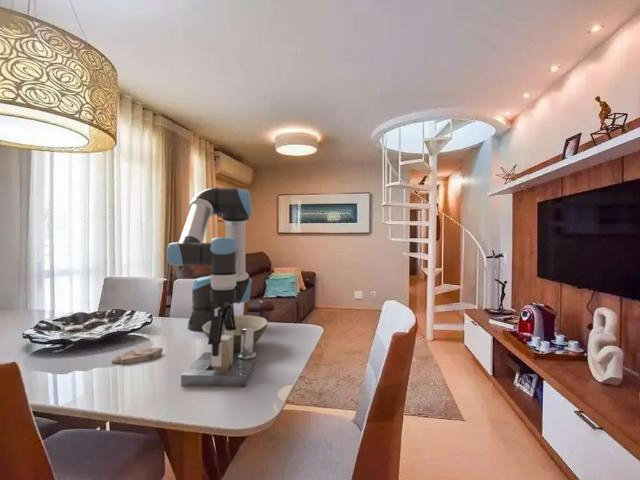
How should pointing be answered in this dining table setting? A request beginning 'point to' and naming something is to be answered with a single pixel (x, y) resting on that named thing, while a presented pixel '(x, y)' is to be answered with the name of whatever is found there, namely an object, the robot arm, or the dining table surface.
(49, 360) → the dining table surface
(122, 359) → the stone
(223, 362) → the box
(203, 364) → the square recessed tray
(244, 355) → the round door knob
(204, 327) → the bowl
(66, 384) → the dining table surface
